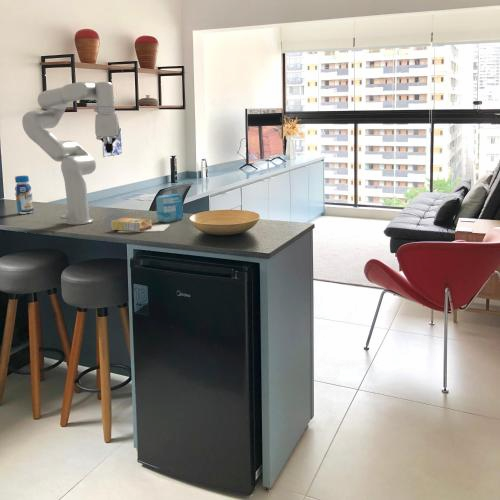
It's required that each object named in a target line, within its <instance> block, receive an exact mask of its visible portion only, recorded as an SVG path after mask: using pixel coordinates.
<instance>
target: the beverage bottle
mask: <svg viewBox="0 0 500 500" xmlns="http://www.w3.org/2000/svg"><path fill="white" fill-rule="evenodd" d="M14 181H15V183H16V184H15V187H14V190H15V193H14V195H15V202H16V208H17V209H16V210H17V213H18V212H30V211H34V212H35V209H34V201H33V192H32V186H31V185H30V184H29V182H30V179H29V175H17V176H16V175H15V177H14Z"/></svg>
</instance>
